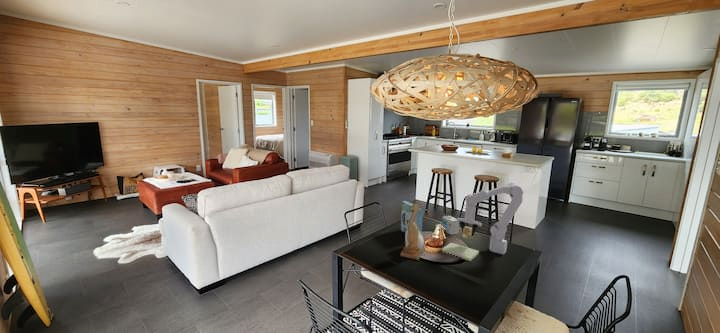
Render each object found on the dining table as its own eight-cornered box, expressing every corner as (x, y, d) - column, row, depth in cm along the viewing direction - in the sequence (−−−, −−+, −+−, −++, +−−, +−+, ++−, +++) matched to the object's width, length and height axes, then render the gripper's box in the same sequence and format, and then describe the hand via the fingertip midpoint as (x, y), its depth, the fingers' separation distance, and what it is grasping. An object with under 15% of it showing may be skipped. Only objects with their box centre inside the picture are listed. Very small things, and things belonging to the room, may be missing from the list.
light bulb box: (441, 230, 217) (442, 216, 215) (448, 229, 220) (449, 215, 218) (451, 235, 207) (452, 221, 206) (458, 234, 210) (459, 219, 209)
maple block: (473, 237, 187) (474, 227, 186) (470, 239, 183) (471, 230, 182) (465, 235, 190) (466, 226, 189) (462, 237, 186) (463, 228, 185)
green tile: (478, 253, 181) (479, 251, 180) (470, 261, 170) (470, 258, 170) (450, 244, 192) (451, 242, 192) (440, 251, 182) (441, 249, 182)
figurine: (425, 249, 184) (427, 226, 181) (418, 256, 174) (420, 232, 172) (409, 245, 190) (410, 222, 187) (401, 251, 181) (402, 228, 178)
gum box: (421, 241, 196) (423, 208, 192) (414, 242, 194) (416, 209, 191) (406, 231, 214) (407, 200, 210) (400, 232, 212) (401, 201, 208)
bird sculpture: (403, 249, 183) (406, 198, 177) (422, 252, 179) (426, 200, 174) (400, 257, 172) (403, 203, 167) (420, 260, 169) (424, 206, 163)
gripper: (484, 214, 183) (482, 235, 185) (460, 209, 192) (458, 230, 194) (480, 217, 177) (478, 239, 180) (456, 212, 186) (455, 233, 188)
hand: (468, 234), depth 186 cm, fingers closed on maple block, 5 cm apart
